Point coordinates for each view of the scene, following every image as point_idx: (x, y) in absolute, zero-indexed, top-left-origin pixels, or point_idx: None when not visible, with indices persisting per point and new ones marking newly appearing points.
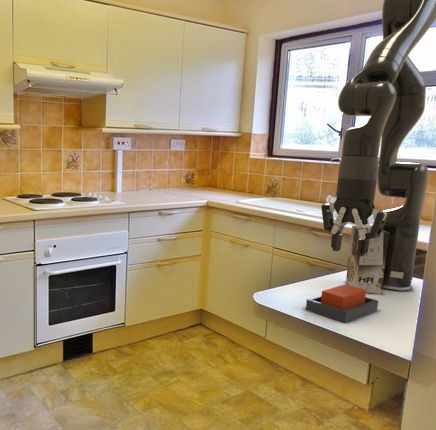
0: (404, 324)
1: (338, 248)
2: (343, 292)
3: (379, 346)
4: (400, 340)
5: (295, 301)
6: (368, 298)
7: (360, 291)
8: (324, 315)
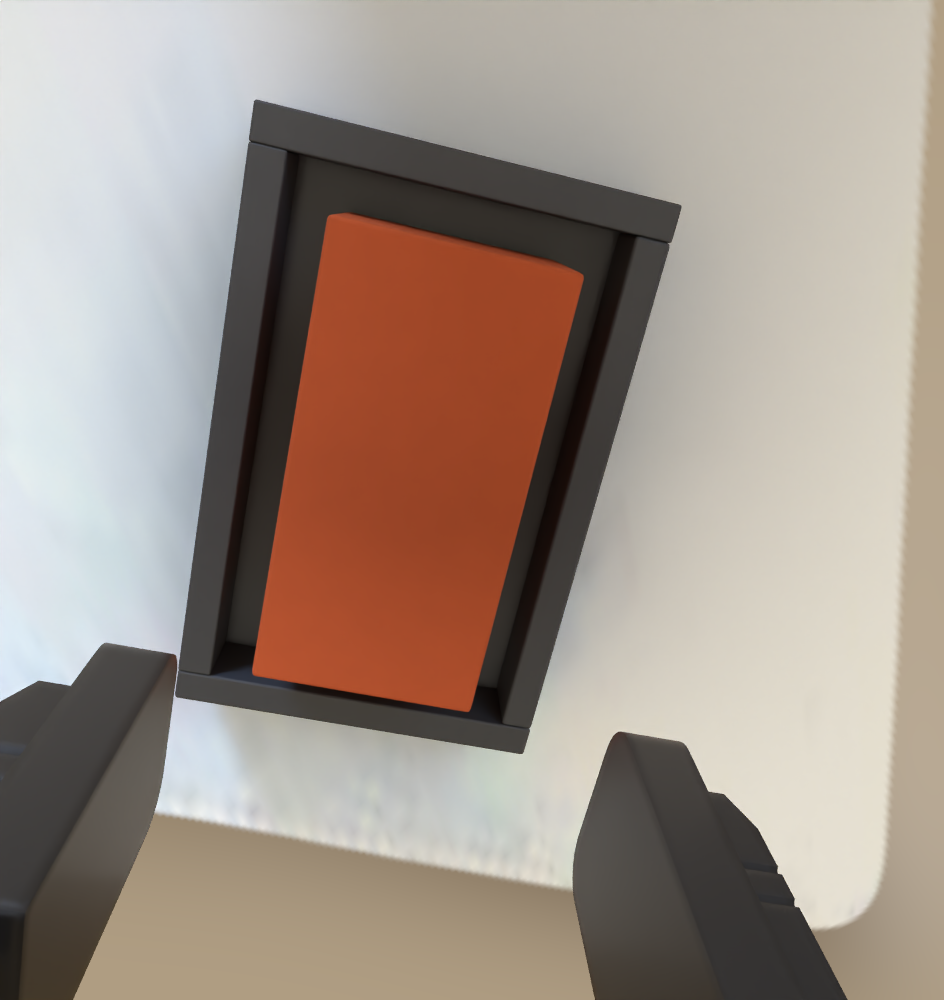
0: (874, 403)
1: (154, 743)
2: (422, 568)
3: None
4: (854, 737)
5: (40, 520)
6: (587, 208)
7: (546, 396)
8: None
